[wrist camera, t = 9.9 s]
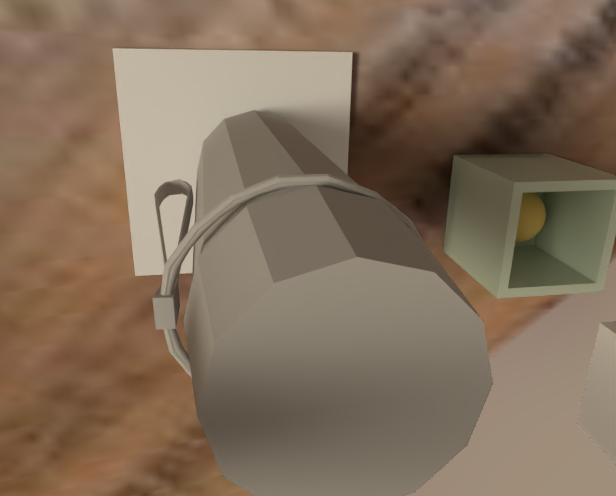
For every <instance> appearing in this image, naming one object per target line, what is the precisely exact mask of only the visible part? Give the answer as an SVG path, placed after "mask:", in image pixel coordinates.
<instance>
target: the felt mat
mask: <svg viewBox="0 0 616 496" xmlns="http://www.w3.org/2000/svg"><path fill="white" fill-rule="evenodd" d="M352 54H353V52H318V51H253V50H189V49H125V48H113V57H114V67H115V77H116V87H117V97H118V107H119V117H120V127H121V137H122V147H123V157H124V167H125V177H126V188H127V198H128V208H129V218H130V228H131V238H132V248H133V258H134V268H135V276H142V275H162V274H163V271H164V262H163V255H162V249H161V242H160V235H159V228H158V222H157V215H156V208H155V197H154V194H155V192H156V191H157V189H158V188H159V186H161V185H162V184H163V183H165V182H168V181H173V180H178V179H181V180H182V181H185V182H187V183H189V185H191V186H192V191H193V208H192V213H191V218H190V223H189V229H188V231H189V230H190V229H191V227H192V226H193V224H195V205H196V183H197V169H198V164H199V159H200V154H201V149H202V145H203V141H204V140H205V139H206V138H207V137H208V136H209V135H210V133H211V132H212V131H213V130H214V129H215V128H216V127H217V126H218V125H219V124H220V123H221V122H222V120H223V119H225V118H228V117H232V116H235V115H239V114H242V113H245V112H249V111H252V110H255V111H259V112H263V113H267V114H271V115H275V116H279V117H283V118H284V119H285V120H287V121H288V122H289V123H290V124H291V125H292V126H293V127H294V128H296V129H297V130H298V131H299V132H300V133H301V134H302V135H303V136H304V137H306V138H307V139H308V140H309V141H310V142H311V143H312V144H313V145H315V146H316V147H317V148H318V149H319V150H320V151H321V152H322V153H323V154H325V155H326V156H327V157H328V158H329V159H330V160H331V161H332V162H334V163H335V164H336V165H337V166H338V167H339V168H340V169H341V170H342V171H344V172H345V173H346V174H348V150H349V126H350V102H351V78H352ZM186 200H187V196H186V195H184V194H178V195H169V196H168V197H167V198H165V199H164V200H163V201H162V203H161V205H160V207H159V208H160V215H161V222H162V229H163V236H164V243H165V250H166V257H167V260H168V259H169V257H170V256H171V255H172V253H173V252H174V251H175V249H176V248H177V246H178V241H179V236H180V231H181V226H182V221H183V215H184V210H185V205H186ZM193 249H194V245H193V247H192V248H191V249H190V251H189V252H188V254H187V256H186V257H185V259H184V261H183V263H182V264H181V269H180V274H182V273H192V271H193Z"/></svg>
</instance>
